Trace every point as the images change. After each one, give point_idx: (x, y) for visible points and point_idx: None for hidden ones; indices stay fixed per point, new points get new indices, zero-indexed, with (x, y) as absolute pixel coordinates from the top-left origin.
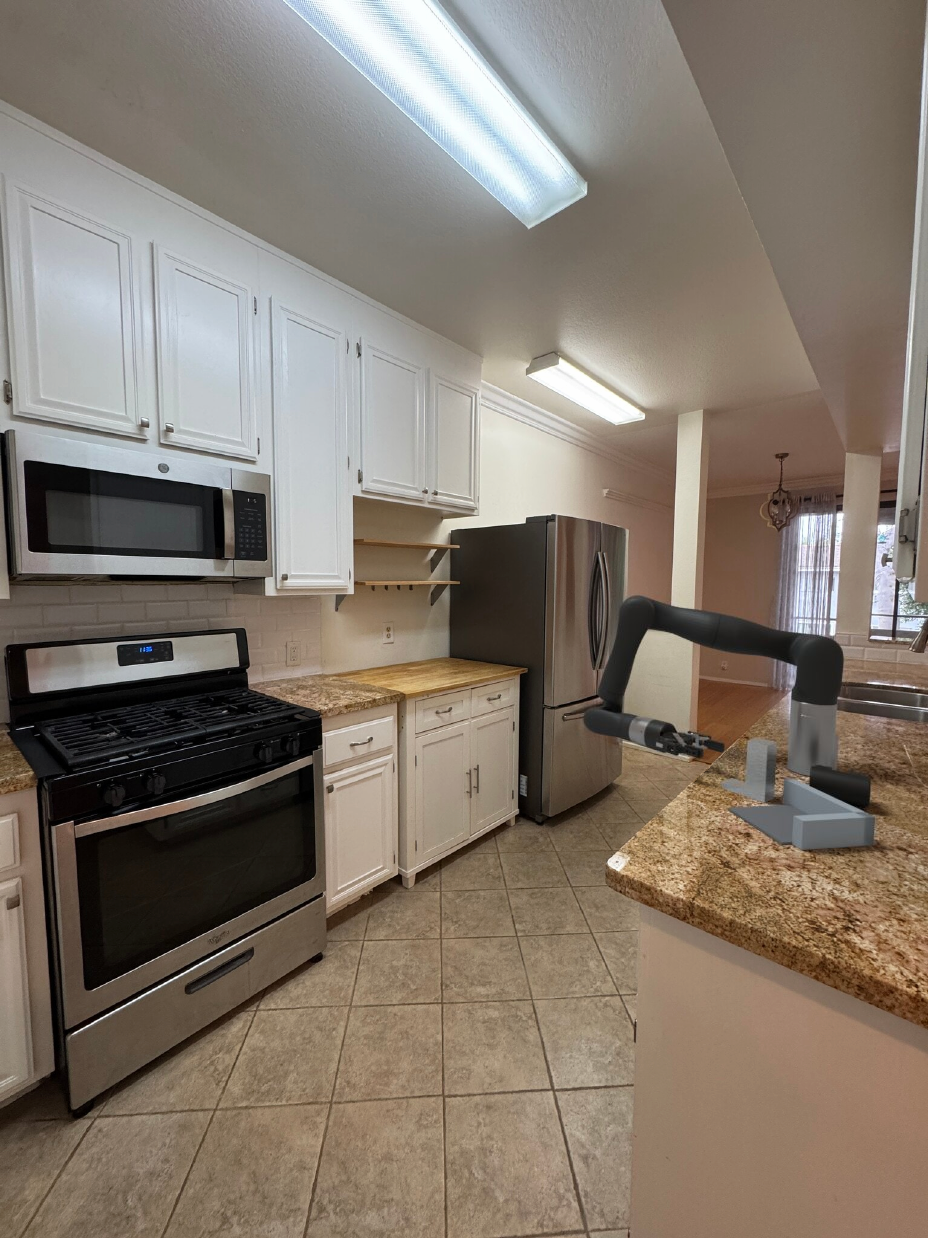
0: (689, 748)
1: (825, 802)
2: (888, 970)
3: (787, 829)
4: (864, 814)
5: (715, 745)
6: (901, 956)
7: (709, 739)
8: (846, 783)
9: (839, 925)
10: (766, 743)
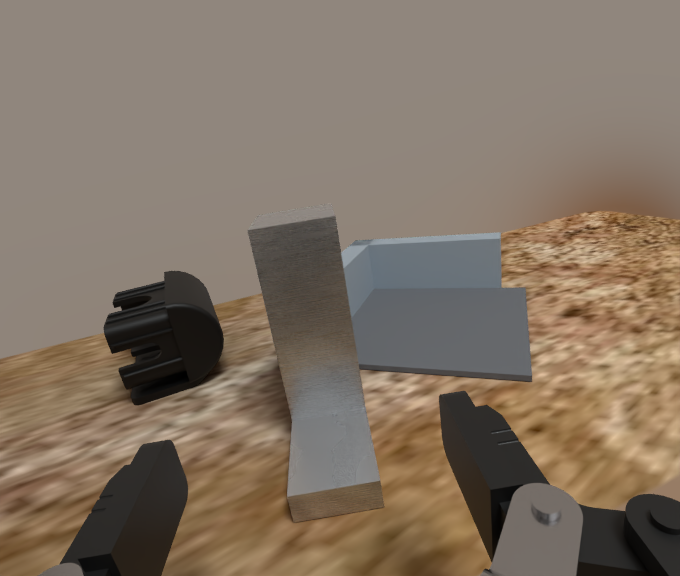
0: (521, 458)
1: (348, 273)
2: (599, 214)
3: (464, 306)
4: (361, 242)
5: (154, 508)
6: (569, 219)
7: (87, 552)
8: (203, 291)
9: (598, 229)
10: (308, 208)
